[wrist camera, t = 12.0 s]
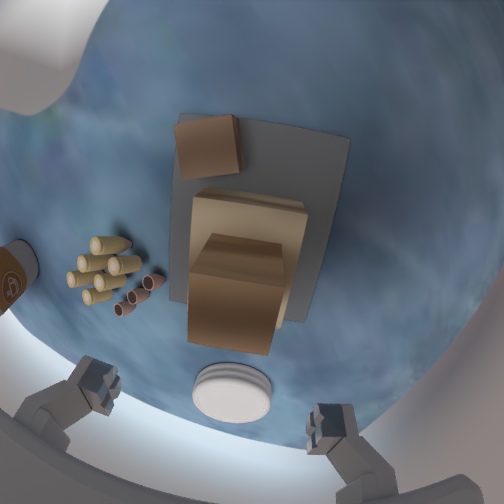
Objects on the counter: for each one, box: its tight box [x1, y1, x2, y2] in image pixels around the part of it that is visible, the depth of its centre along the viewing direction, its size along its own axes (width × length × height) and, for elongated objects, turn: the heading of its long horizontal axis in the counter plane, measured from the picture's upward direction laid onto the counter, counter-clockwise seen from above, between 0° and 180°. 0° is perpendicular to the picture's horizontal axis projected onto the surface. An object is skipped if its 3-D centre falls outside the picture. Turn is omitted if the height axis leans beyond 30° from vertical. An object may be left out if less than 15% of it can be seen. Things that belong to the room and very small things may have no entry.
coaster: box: [192, 363, 272, 423], centre depth 31 cm, size 10×10×4 cm
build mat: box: [169, 113, 350, 322], centre depth 24 cm, size 18×14×1 cm
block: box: [174, 114, 245, 181], centre depth 19 cm, size 4×4×4 cm
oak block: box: [188, 233, 285, 356], centre depth 18 cm, size 5×5×6 cm
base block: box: [187, 187, 308, 329], centre depth 22 cm, size 10×8×4 cm
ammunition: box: [67, 236, 166, 317], centre depth 25 cm, size 5×7×8 cm
